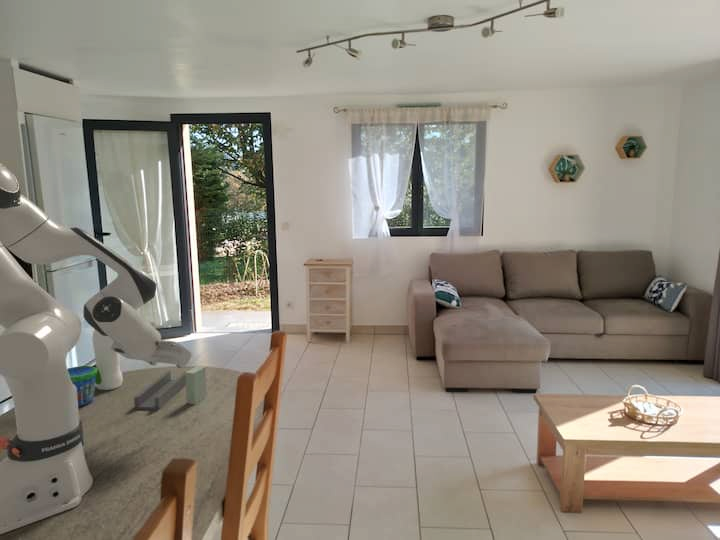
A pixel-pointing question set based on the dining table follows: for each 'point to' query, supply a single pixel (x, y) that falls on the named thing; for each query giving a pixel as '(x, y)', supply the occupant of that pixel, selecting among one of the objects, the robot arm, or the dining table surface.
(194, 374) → the door panel
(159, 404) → the track
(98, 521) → the dining table surface
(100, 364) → the bottle
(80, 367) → the snack cup
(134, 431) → the dining table surface
